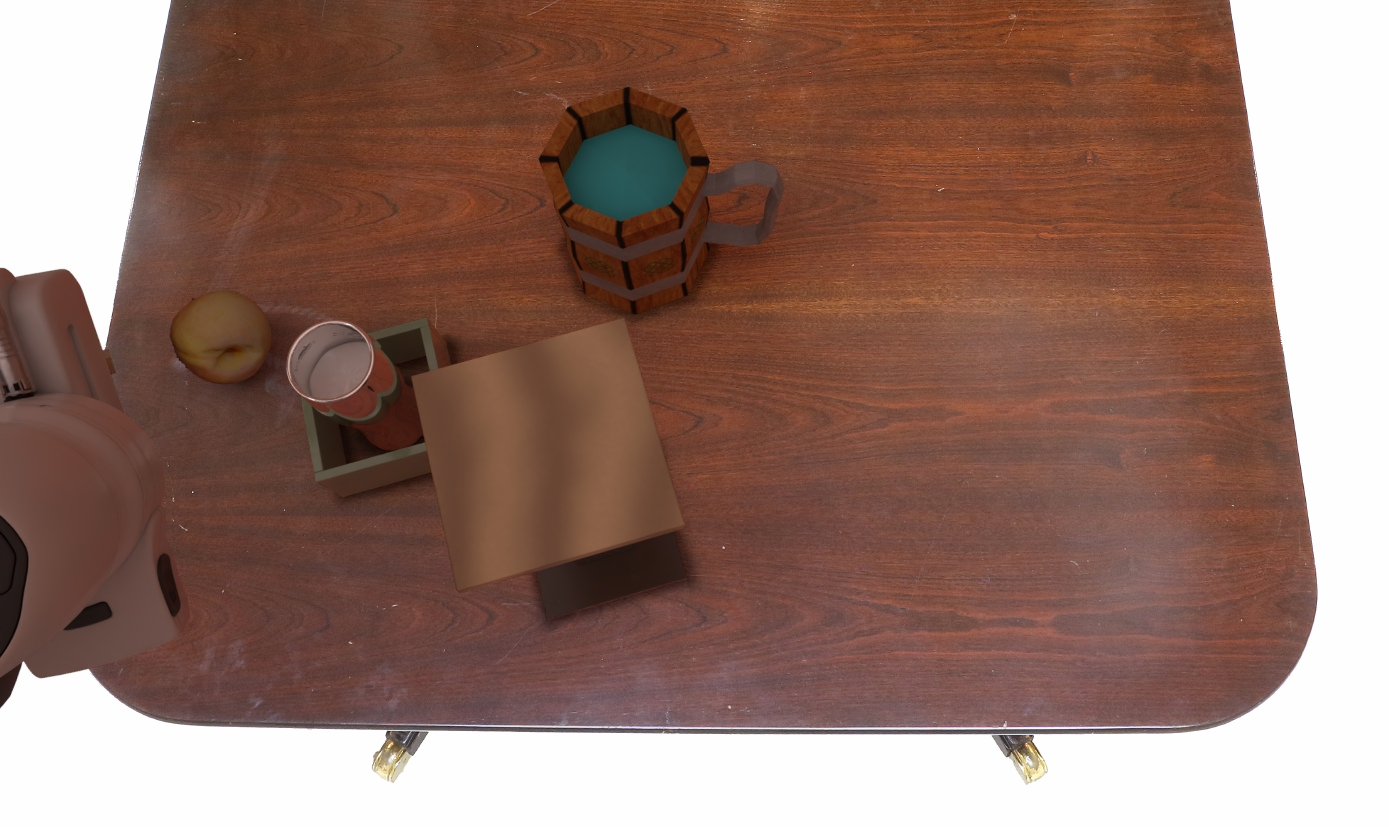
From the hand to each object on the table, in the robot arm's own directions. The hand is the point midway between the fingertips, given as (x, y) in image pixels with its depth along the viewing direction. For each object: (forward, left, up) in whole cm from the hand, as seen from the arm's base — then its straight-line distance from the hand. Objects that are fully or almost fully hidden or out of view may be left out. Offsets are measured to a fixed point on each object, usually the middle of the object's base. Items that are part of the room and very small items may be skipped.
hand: (123, 440), depth 56 cm
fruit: (-3, +17, -26) cm, 31 cm away
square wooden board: (+24, -8, +1) cm, 26 cm away
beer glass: (+9, +7, -26) cm, 29 cm away
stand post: (+24, -8, -26) cm, 37 cm away
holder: (+9, +7, -26) cm, 29 cm away
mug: (+37, +16, -26) cm, 48 cm away
